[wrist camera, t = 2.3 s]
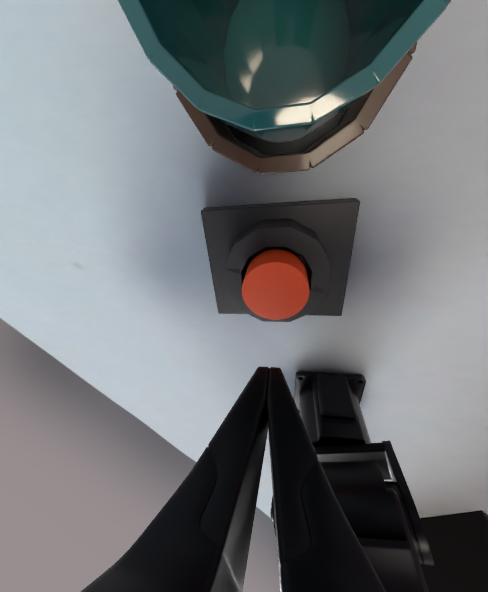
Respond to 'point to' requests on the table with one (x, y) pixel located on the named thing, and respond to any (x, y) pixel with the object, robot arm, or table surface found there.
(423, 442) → the table surface
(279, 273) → the release button
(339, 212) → the button housing
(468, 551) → the matte black box
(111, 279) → the table surface
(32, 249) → the table surface
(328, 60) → the cup
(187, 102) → the stave barrel planter
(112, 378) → the table surface
